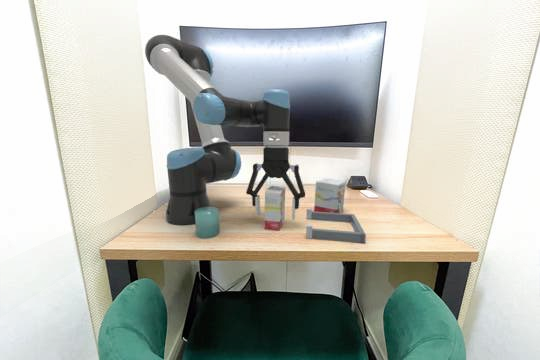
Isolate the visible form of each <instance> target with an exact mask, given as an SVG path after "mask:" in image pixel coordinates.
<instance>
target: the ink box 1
mask: <svg viewBox="0 0 540 360" xmlns="http://www.w3.org/2000/svg"><path fill="white" fill-rule="evenodd" d="M285 209H286V186H280V185H273V184H272V185H270V186H269V187H268V188H267V189H265V190H264V229H265V230H273V231H281V229H282V226H283V224H284V222H285V219H286V218H285V217H286V215H285V213H286V211H285Z"/></svg>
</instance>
